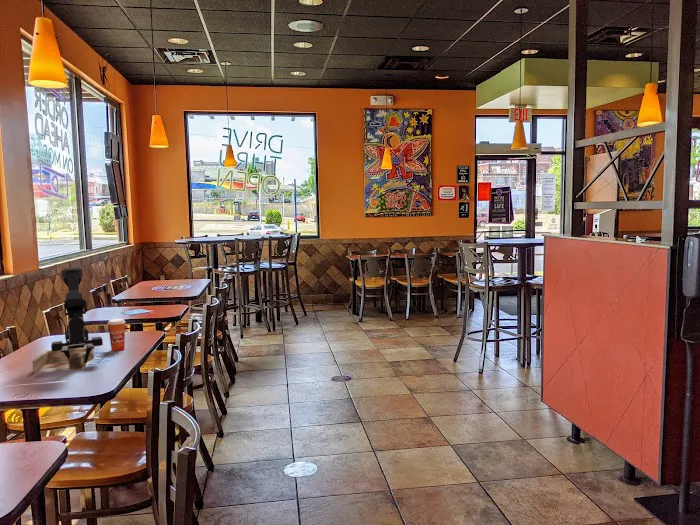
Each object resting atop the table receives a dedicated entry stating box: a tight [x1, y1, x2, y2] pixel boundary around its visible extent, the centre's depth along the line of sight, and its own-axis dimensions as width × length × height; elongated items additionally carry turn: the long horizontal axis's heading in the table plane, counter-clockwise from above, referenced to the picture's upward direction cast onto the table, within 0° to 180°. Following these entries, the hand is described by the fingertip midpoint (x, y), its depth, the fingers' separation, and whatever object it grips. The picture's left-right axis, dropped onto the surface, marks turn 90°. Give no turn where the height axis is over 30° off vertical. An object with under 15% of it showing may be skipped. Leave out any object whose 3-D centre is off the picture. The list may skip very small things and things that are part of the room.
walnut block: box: [69, 352, 88, 370], centre depth 221 cm, size 5×10×5 cm, turn 13°
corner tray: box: [31, 347, 95, 374], centre depth 222 cm, size 19×17×6 cm
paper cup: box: [107, 318, 126, 352], centre depth 248 cm, size 8×8×14 cm
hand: (78, 364), depth 221 cm, fingers closed on walnut block, 5 cm apart
